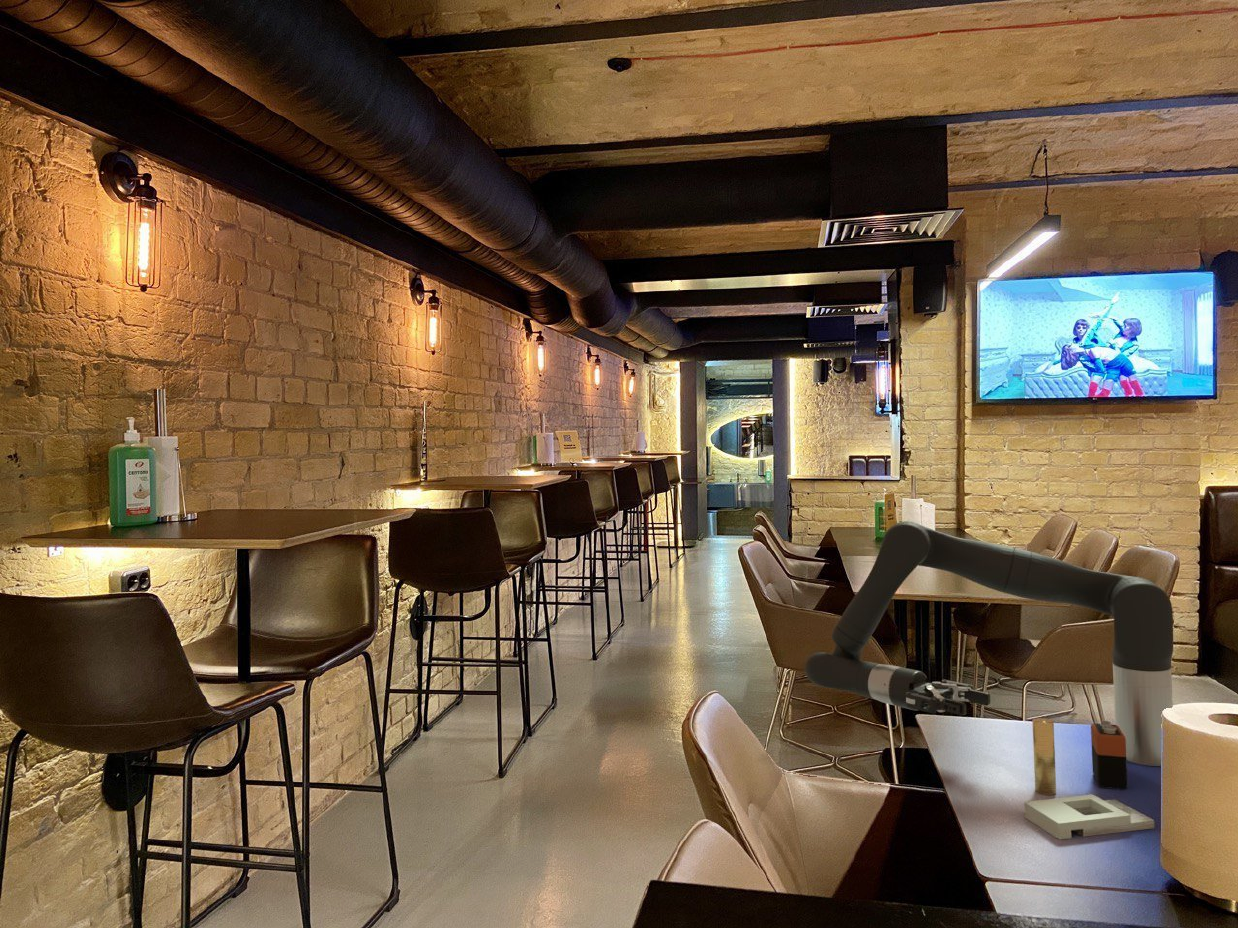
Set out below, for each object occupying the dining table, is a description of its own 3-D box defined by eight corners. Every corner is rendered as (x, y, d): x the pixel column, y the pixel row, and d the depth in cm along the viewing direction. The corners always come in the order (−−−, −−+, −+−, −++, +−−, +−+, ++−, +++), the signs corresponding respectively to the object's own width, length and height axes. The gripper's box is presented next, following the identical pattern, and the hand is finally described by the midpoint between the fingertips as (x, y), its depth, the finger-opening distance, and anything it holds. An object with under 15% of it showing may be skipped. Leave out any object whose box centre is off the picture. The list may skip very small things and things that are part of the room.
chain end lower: (1083, 836, 123) (1083, 828, 123) (1047, 814, 131) (1047, 806, 131) (1154, 827, 124) (1154, 820, 124) (1115, 806, 132) (1114, 798, 132)
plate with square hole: (1092, 808, 132) (1092, 794, 132) (1131, 830, 124) (1130, 814, 124) (1024, 816, 130) (1024, 801, 130) (1059, 839, 122) (1058, 823, 122)
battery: (1098, 787, 140) (1096, 729, 140) (1092, 773, 146) (1089, 717, 146) (1128, 790, 138) (1126, 731, 138) (1120, 775, 145) (1118, 719, 145)
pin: (1047, 786, 141) (1045, 717, 141) (1060, 794, 138) (1057, 723, 138) (1031, 788, 141) (1028, 718, 141) (1043, 795, 137) (1040, 724, 137)
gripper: (876, 673, 156) (956, 691, 144) (917, 660, 165) (996, 676, 153) (877, 712, 156) (957, 734, 144) (918, 697, 165) (997, 716, 153)
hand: (977, 704), depth 148 cm, fingers open, 8 cm apart
